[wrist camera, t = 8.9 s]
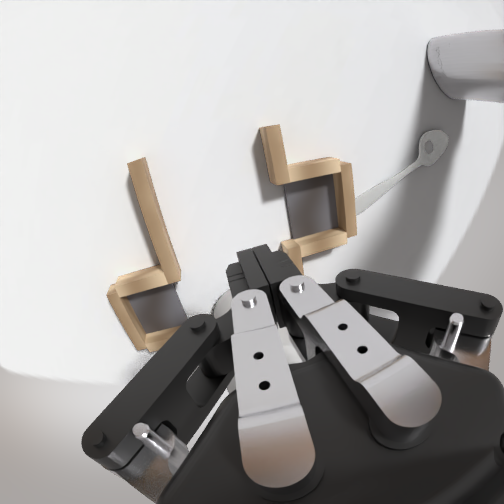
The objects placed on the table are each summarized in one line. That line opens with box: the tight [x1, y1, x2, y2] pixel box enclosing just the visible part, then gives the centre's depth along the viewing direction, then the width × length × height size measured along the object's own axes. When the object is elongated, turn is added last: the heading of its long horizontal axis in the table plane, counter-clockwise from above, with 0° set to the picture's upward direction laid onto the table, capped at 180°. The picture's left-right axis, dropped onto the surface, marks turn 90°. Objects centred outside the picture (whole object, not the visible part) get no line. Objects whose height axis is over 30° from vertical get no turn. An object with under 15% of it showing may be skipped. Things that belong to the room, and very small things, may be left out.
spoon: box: [355, 130, 448, 215], centre depth 26 cm, size 4×21×2 cm, turn 126°
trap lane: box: [106, 124, 357, 352], centre depth 25 cm, size 25×23×3 cm
